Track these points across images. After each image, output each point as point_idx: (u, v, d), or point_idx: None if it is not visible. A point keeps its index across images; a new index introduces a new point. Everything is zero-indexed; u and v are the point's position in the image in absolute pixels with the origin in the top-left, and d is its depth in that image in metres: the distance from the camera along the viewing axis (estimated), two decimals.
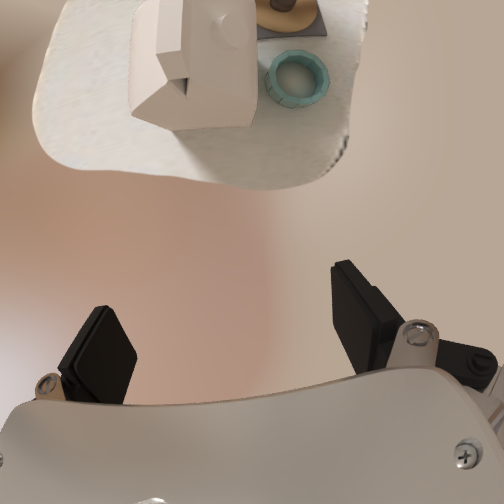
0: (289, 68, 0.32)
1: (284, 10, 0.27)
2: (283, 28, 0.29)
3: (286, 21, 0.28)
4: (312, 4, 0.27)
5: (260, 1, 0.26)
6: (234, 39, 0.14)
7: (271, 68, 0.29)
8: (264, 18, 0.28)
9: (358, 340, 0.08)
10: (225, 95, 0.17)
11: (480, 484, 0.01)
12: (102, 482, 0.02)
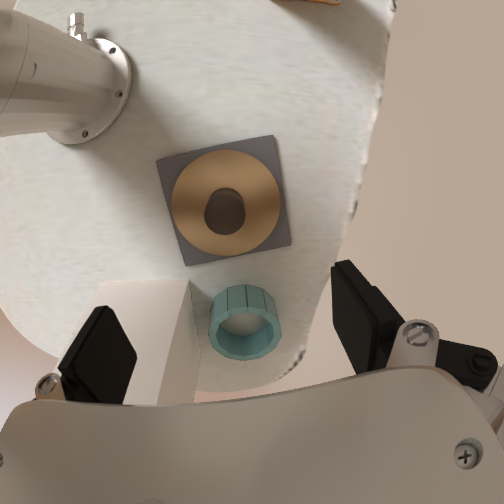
0: None
1: None
2: (228, 250, 0.29)
3: (233, 239, 0.28)
4: (274, 197, 0.27)
5: (194, 204, 0.26)
6: None
7: (210, 331, 0.29)
8: (201, 237, 0.28)
9: (358, 340, 0.08)
10: None
11: (480, 484, 0.01)
12: (102, 482, 0.02)
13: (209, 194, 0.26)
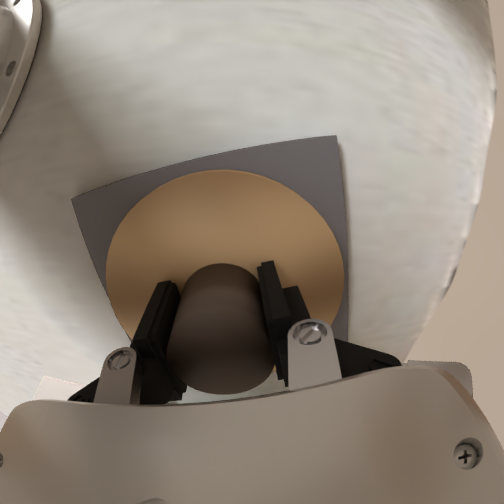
0: None
1: None
2: None
3: None
4: (331, 280, 0.12)
5: None
6: None
7: None
8: None
9: None
10: None
11: (480, 484, 0.01)
12: (102, 482, 0.02)
13: (184, 277, 0.11)
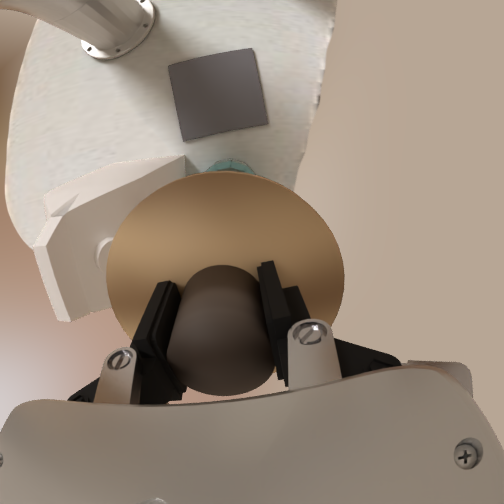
0: None
1: None
2: None
3: None
4: (331, 281, 0.12)
5: None
6: None
7: None
8: None
9: None
10: None
11: (480, 484, 0.01)
12: (102, 482, 0.02)
13: (185, 279, 0.11)
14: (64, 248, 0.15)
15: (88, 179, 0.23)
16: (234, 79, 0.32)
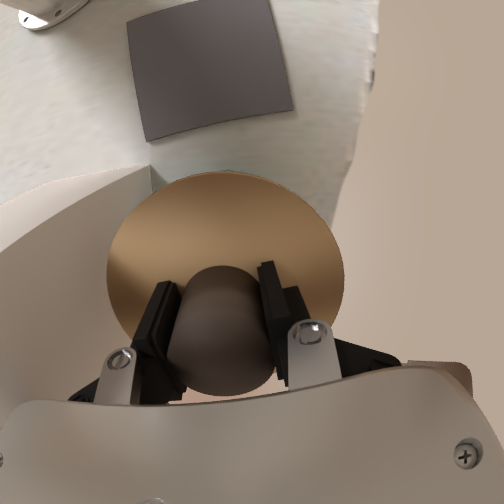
0: None
1: None
2: None
3: None
4: (331, 282, 0.12)
5: None
6: None
7: None
8: None
9: None
10: None
11: (480, 484, 0.01)
12: (102, 482, 0.02)
13: (185, 280, 0.11)
14: None
15: None
16: (234, 35, 0.16)
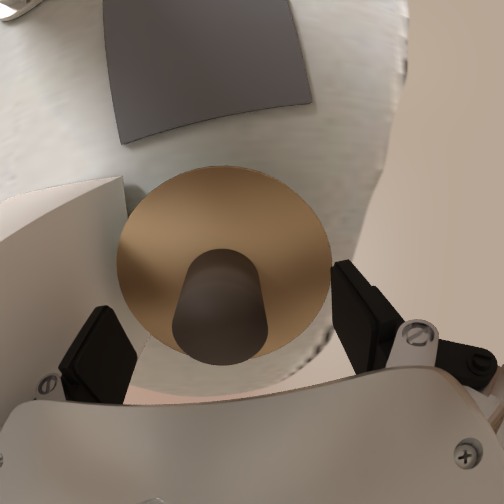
0: None
1: None
2: None
3: None
4: (320, 265, 0.13)
5: (159, 280, 0.13)
6: None
7: None
8: None
9: (357, 340, 0.08)
10: None
11: (480, 484, 0.01)
12: (102, 482, 0.02)
13: (188, 262, 0.13)
14: None
15: None
16: (236, 8, 0.11)
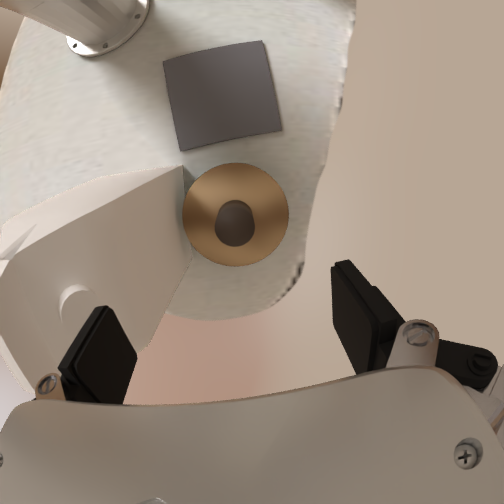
0: None
1: None
2: (237, 261, 0.30)
3: (242, 250, 0.29)
4: (282, 209, 0.28)
5: (204, 216, 0.27)
6: None
7: None
8: (211, 248, 0.29)
9: (358, 340, 0.08)
10: None
11: (480, 484, 0.01)
12: (102, 482, 0.02)
13: (219, 206, 0.27)
14: (15, 304, 0.09)
15: (58, 200, 0.17)
16: (241, 76, 0.26)
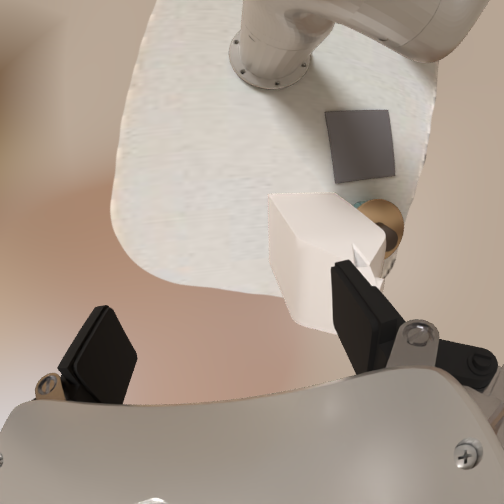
0: None
1: None
2: None
3: None
4: (401, 228, 0.41)
5: None
6: None
7: None
8: None
9: (358, 340, 0.08)
10: None
11: (480, 484, 0.01)
12: (102, 482, 0.02)
13: None
14: None
15: (316, 222, 0.30)
16: (376, 136, 0.39)
